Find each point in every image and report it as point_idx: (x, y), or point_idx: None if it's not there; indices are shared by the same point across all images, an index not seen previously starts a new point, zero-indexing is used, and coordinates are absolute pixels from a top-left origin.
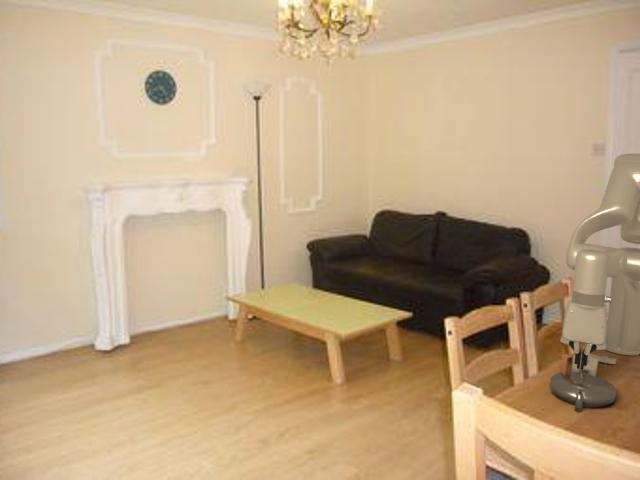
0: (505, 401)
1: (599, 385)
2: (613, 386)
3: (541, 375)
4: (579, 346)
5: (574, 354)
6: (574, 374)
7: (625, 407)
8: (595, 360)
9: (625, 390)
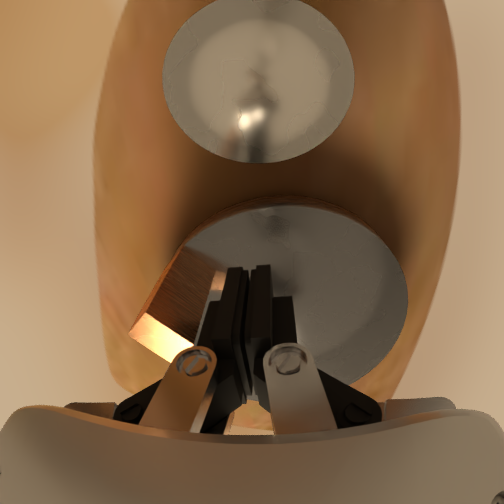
0: (133, 392)
1: (350, 312)
2: (404, 290)
3: (103, 193)
4: (212, 396)
5: (167, 83)
6: (230, 251)
7: (412, 302)
8: (340, 116)
9: (435, 154)
